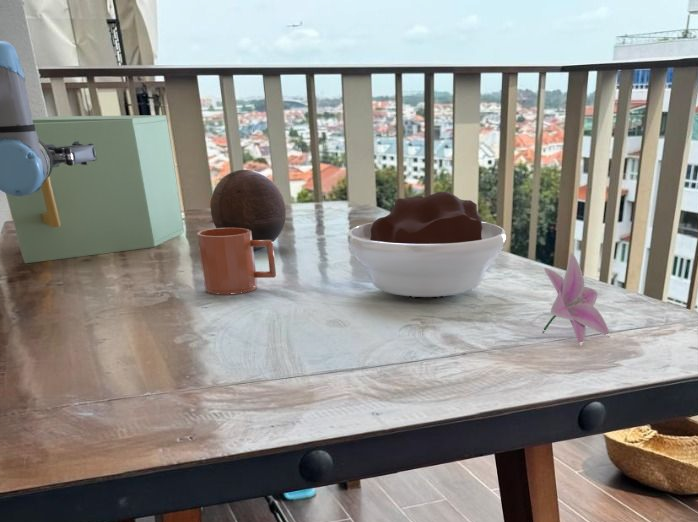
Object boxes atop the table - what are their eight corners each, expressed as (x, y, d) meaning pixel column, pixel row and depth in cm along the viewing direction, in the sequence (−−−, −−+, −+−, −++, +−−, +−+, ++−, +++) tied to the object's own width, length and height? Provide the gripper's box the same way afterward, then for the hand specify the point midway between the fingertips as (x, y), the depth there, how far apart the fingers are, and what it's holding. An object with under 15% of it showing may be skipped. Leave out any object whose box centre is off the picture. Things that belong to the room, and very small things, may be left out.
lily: (532, 360, 96) (575, 297, 89) (498, 303, 102) (536, 241, 96) (599, 374, 102) (644, 316, 96) (563, 319, 108) (603, 262, 102)
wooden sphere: (303, 248, 157) (297, 168, 150) (247, 259, 148) (237, 175, 140) (258, 240, 166) (249, 164, 158) (201, 250, 156) (190, 170, 148)
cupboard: (154, 247, 161) (132, 118, 148) (39, 246, 163) (8, 119, 151) (184, 232, 176) (166, 115, 163) (79, 232, 178) (53, 116, 166)
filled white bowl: (388, 320, 109) (385, 207, 101) (328, 285, 128) (322, 188, 120) (533, 300, 118) (541, 195, 110) (456, 270, 137) (459, 179, 129)
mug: (199, 295, 123) (191, 236, 119) (212, 283, 131) (204, 227, 126) (273, 294, 123) (267, 236, 118) (281, 282, 130) (275, 227, 126)
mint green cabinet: (165, 251, 155) (143, 120, 143) (33, 268, 142) (-4, 126, 130) (152, 246, 160) (130, 119, 148) (23, 262, 147) (-13, 125, 135)
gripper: (-54, 190, 119) (-30, 176, 136) (112, 183, 125) (114, 171, 142) (-70, 136, 115) (-43, 129, 132) (102, 132, 121) (106, 125, 138)
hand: (38, 150), depth 137 cm, fingers open, 13 cm apart
